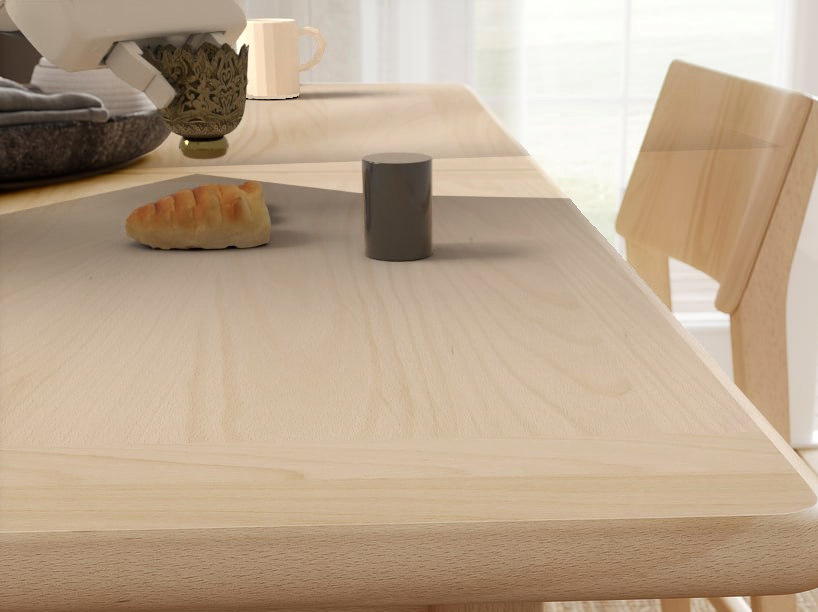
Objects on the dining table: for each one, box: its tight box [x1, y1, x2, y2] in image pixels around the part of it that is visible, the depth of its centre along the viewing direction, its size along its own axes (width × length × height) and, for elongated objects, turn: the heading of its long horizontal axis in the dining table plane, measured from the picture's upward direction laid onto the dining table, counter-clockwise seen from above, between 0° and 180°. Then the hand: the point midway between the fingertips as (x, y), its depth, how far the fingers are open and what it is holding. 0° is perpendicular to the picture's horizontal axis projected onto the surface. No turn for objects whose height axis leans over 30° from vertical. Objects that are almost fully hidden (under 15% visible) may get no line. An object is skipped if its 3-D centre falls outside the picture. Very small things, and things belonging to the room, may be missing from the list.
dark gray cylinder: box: [361, 151, 434, 262], centre depth 74 cm, size 4×4×6 cm
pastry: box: [125, 180, 272, 251], centre depth 77 cm, size 9×7×4 cm
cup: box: [143, 42, 249, 160], centre depth 86 cm, size 8×7×8 cm
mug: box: [235, 18, 328, 96], centre depth 158 cm, size 8×12×10 cm
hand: (206, 96), depth 86 cm, fingers closed on cup, 7 cm apart
